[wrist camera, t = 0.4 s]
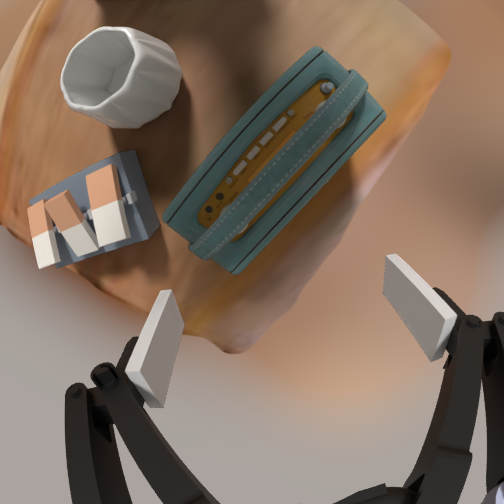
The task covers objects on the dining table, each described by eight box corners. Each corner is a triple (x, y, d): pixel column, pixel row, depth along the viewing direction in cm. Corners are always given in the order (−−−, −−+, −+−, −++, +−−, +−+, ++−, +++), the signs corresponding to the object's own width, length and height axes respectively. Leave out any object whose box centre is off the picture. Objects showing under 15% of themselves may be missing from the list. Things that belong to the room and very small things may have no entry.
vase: (169, 138, 37) (130, 141, 23) (93, 120, 35) (34, 121, 21) (201, 54, 32) (179, 15, 18) (121, 42, 30) (73, 13, 16)
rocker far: (35, 209, 34) (26, 209, 32) (53, 198, 34) (44, 198, 32) (46, 266, 36) (37, 269, 33) (65, 259, 35) (56, 262, 33)
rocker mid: (49, 197, 31) (42, 206, 29) (72, 185, 31) (65, 193, 29) (81, 247, 38) (76, 257, 36) (104, 239, 37) (100, 249, 35)
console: (47, 193, 39) (21, 204, 32) (137, 148, 37) (116, 152, 30) (72, 256, 44) (51, 275, 37) (163, 226, 43) (148, 245, 35)
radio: (237, 236, 44) (232, 312, 25) (183, 194, 41) (137, 243, 22) (347, 118, 36) (423, 112, 18) (295, 70, 33) (337, 20, 15)
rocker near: (92, 178, 33) (83, 177, 31) (121, 165, 33) (113, 163, 31) (106, 245, 34) (97, 247, 32) (136, 236, 34) (128, 237, 32)
